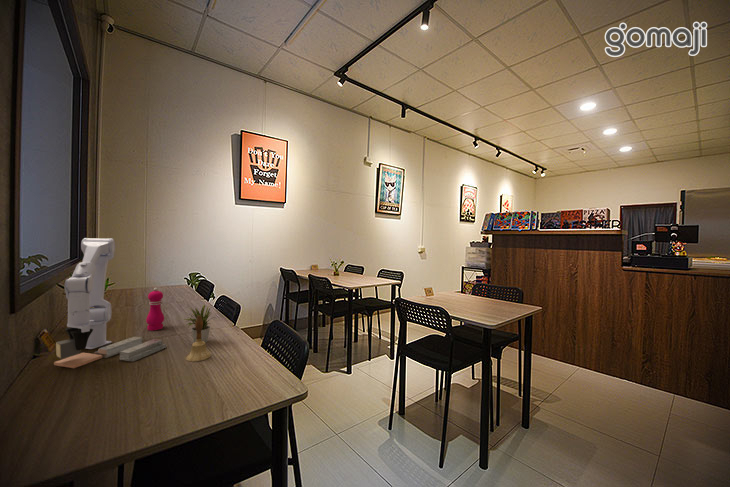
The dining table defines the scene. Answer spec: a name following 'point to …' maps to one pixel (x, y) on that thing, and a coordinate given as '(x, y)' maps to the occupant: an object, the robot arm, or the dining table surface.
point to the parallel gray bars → (131, 349)
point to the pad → (77, 360)
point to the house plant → (205, 328)
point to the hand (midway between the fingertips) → (78, 348)
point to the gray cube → (66, 348)
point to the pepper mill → (155, 311)
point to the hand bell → (198, 344)
